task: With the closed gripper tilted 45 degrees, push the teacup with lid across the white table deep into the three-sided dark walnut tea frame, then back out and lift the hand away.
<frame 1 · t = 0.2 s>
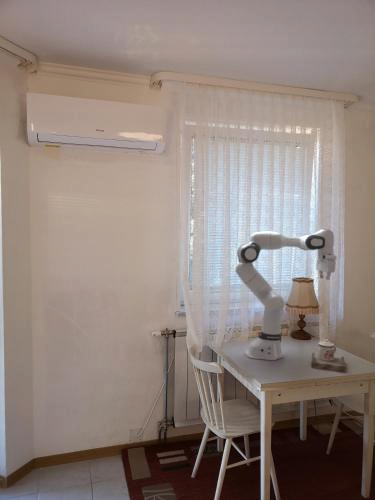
hand: (324, 279, 219), 48 cm above the table, tool pointing down, fingers open, 8 cm apart
teacup with lid: (327, 358, 218), on the table
walnut tea frame: (327, 364, 207), on the table
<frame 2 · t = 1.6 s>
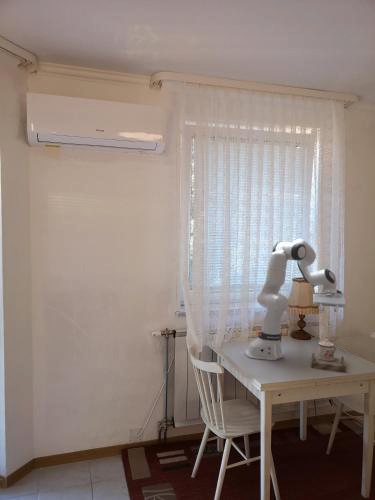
hand: (328, 310, 234), 26 cm above the table, tool tilted 45°, fingers open, 6 cm apart
nothing on the table moved.
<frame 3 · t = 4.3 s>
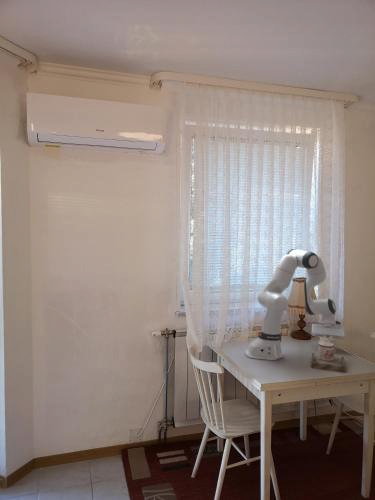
hand: (327, 342, 229), 6 cm above the table, tool tilted 45°, fingers closed
nothing on the table moved.
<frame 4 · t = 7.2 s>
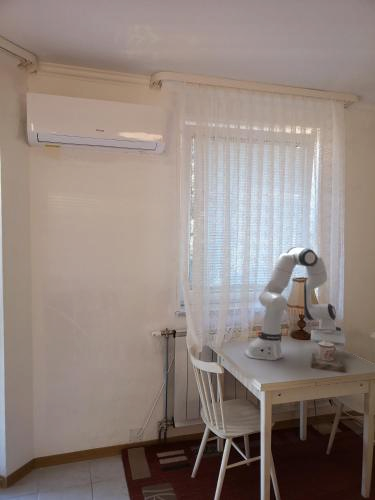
hand: (327, 349, 219), 5 cm above the table, tool tilted 45°, fingers closed
teacup with lid: (327, 358, 217), on the table, touching gripper
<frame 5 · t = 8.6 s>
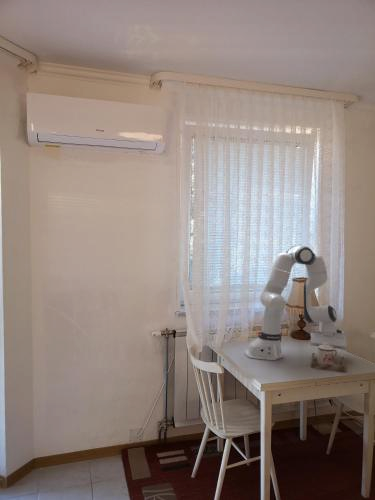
hand: (328, 353, 212), 5 cm above the table, tool tilted 45°, fingers closed
teacup with lid: (327, 362, 210), on the table, touching gripper
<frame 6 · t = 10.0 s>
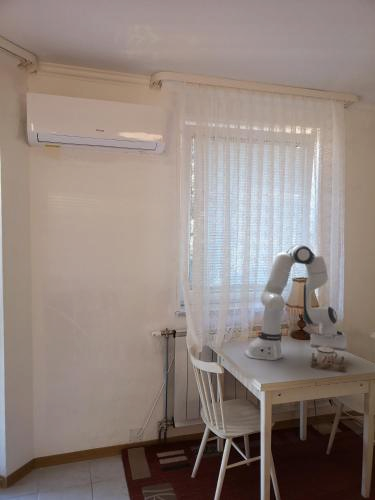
hand: (328, 355, 208), 5 cm above the table, tool tilted 45°, fingers closed
teacup with lid: (327, 365, 206), on the table, touching gripper
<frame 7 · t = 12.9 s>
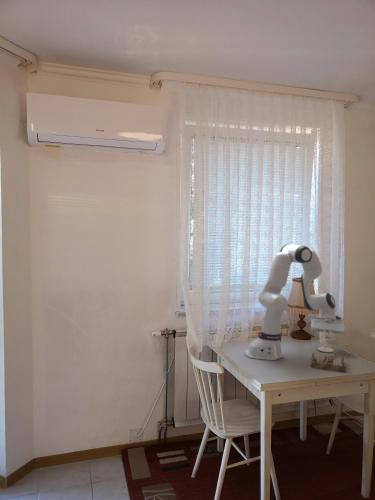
hand: (327, 337, 224), 11 cm above the table, tool tilted 45°, fingers closed
teacup with lid: (327, 365, 206), on the table
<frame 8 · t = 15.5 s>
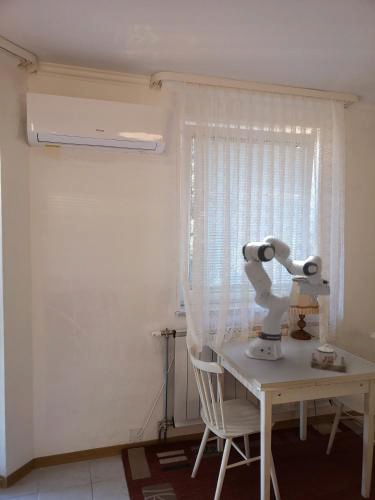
hand: (313, 301, 234), 31 cm above the table, tool pointing down, fingers closed
nothing on the table moved.
at the end: teacup with lid inside the target area on the walnut tea frame (0.5 cm from its centre), point 0.0 cm above the walnut tea frame's base; teacup with lid tilted 0°; teacup with lid moved 12.0 cm from its start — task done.
